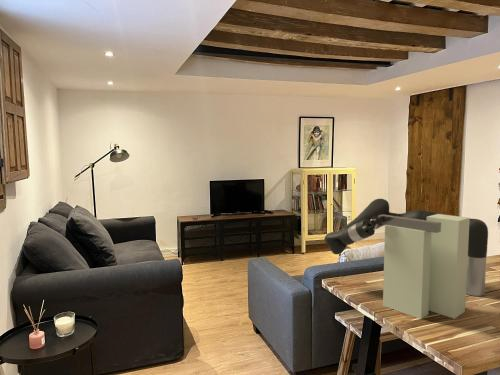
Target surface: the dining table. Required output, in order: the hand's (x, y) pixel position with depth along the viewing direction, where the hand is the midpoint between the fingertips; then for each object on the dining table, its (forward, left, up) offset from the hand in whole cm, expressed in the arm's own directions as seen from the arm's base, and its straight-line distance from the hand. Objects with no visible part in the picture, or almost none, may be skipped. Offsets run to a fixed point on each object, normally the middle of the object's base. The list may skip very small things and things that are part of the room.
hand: (390, 216), depth 151 cm
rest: (0, +7, -37) cm, 38 cm away
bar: (0, +7, -3) cm, 8 cm away
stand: (-12, +17, -37) cm, 43 cm away
